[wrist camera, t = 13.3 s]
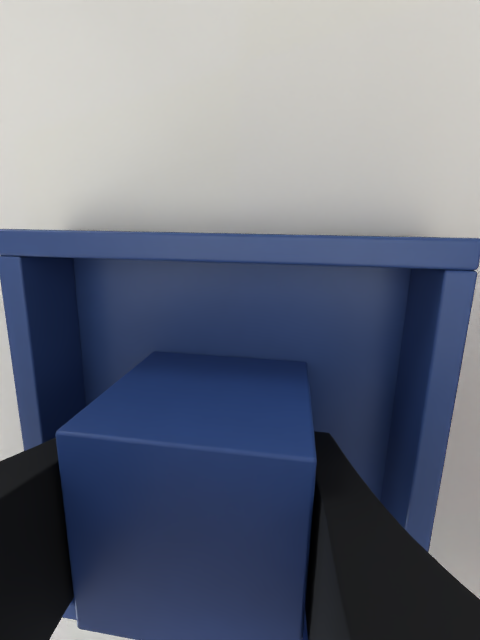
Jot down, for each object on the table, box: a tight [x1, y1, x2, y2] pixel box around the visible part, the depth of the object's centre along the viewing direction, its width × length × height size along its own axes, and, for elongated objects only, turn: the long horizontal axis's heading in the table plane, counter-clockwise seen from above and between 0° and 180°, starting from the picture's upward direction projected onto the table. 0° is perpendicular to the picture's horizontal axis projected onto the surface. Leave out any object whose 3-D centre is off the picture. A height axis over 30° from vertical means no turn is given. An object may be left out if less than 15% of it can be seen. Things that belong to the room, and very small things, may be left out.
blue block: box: [55, 352, 317, 640], centre depth 8 cm, size 4×4×4 cm
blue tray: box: [0, 229, 480, 640], centre depth 10 cm, size 11×10×2 cm
